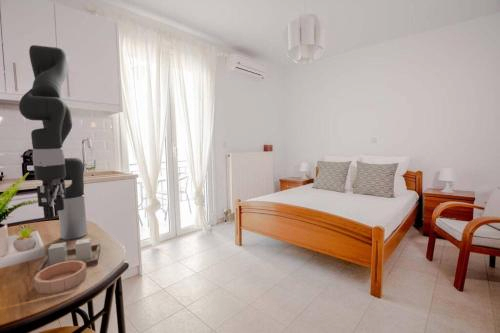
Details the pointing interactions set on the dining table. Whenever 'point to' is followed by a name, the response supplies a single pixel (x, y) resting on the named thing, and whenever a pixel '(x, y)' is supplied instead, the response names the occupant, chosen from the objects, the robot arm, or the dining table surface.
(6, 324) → the dining table surface
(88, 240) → the white rectangular block
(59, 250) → the light grey block
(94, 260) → the tray
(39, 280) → the bowl
